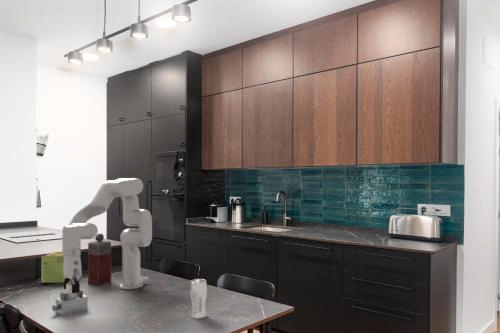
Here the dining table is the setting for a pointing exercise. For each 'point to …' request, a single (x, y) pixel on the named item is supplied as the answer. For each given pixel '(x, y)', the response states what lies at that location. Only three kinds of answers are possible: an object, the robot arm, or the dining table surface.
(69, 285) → the bottle
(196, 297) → the beer glass
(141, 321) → the dining table surface
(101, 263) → the red canister
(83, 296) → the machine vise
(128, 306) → the dining table surface
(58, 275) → the protein box
